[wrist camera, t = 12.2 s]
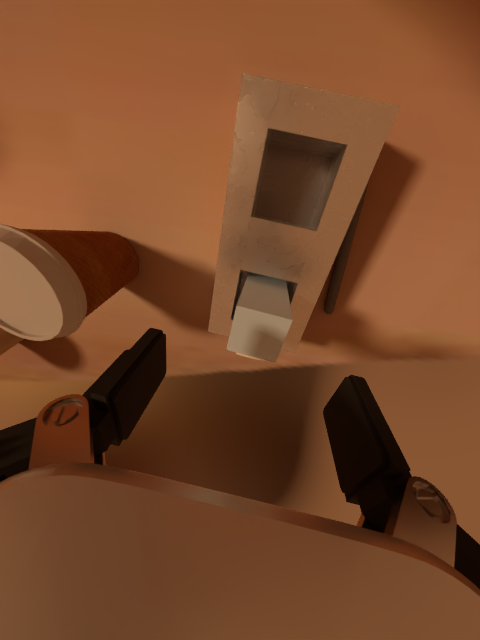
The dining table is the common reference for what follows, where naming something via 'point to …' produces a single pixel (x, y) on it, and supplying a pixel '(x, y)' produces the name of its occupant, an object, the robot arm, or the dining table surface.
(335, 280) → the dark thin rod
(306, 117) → the panel
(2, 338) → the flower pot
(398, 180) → the dining table surface
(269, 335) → the plug
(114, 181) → the dining table surface
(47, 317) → the disposable coffee cup
